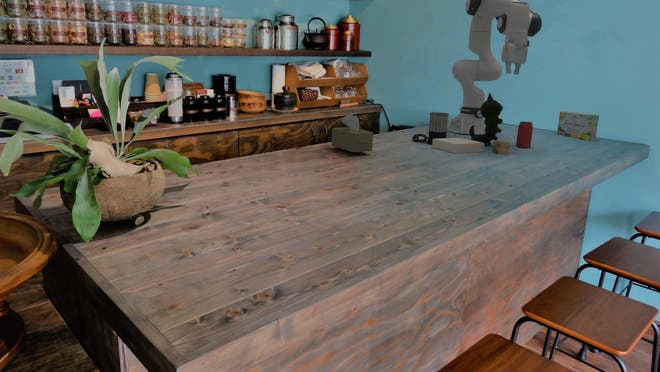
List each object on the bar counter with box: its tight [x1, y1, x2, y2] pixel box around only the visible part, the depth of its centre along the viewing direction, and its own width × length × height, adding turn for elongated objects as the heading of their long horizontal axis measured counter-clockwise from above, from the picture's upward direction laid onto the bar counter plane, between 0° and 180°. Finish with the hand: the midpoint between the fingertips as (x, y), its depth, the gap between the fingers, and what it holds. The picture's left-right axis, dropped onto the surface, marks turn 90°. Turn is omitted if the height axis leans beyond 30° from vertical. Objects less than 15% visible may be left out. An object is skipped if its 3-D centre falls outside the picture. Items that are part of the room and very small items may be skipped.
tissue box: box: [331, 111, 374, 153], centre depth 218 cm, size 19×10×16 cm, turn 29°
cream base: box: [431, 137, 485, 154], centre depth 226 cm, size 16×16×4 cm
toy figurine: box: [468, 92, 504, 147], centre depth 243 cm, size 9×19×25 cm, turn 27°
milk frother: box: [411, 111, 450, 145], centre depth 244 cm, size 14×16×15 cm
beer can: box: [515, 120, 534, 149], centre depth 242 cm, size 7×7×12 cm
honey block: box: [491, 140, 511, 155], centre depth 222 cm, size 5×5×5 cm
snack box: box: [556, 110, 600, 142], centre depth 274 cm, size 21×6×15 cm, turn 25°
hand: (512, 74), depth 219 cm, fingers open, 8 cm apart
